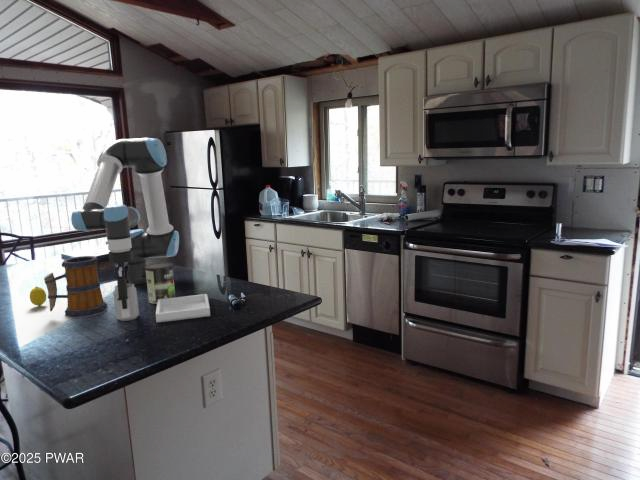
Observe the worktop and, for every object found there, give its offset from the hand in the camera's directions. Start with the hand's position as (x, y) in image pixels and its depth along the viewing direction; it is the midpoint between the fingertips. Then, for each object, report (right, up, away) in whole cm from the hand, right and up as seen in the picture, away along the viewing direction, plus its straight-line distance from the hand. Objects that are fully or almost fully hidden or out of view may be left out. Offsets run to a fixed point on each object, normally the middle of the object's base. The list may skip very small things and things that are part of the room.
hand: (127, 313), depth 169 cm
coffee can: (+6, +2, +20) cm, 21 cm away
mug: (-21, -1, +8) cm, 22 cm away
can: (0, -2, 0) cm, 2 cm away
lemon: (-41, 0, +18) cm, 45 cm away
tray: (+18, 0, +5) cm, 19 cm away
